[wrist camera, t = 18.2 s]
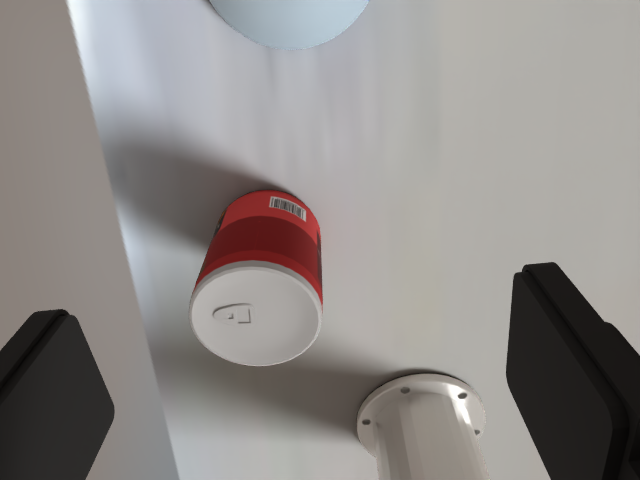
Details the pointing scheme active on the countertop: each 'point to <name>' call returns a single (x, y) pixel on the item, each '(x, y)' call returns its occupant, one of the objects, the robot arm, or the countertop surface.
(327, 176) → the countertop surface
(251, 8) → the dish
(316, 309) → the canned food
